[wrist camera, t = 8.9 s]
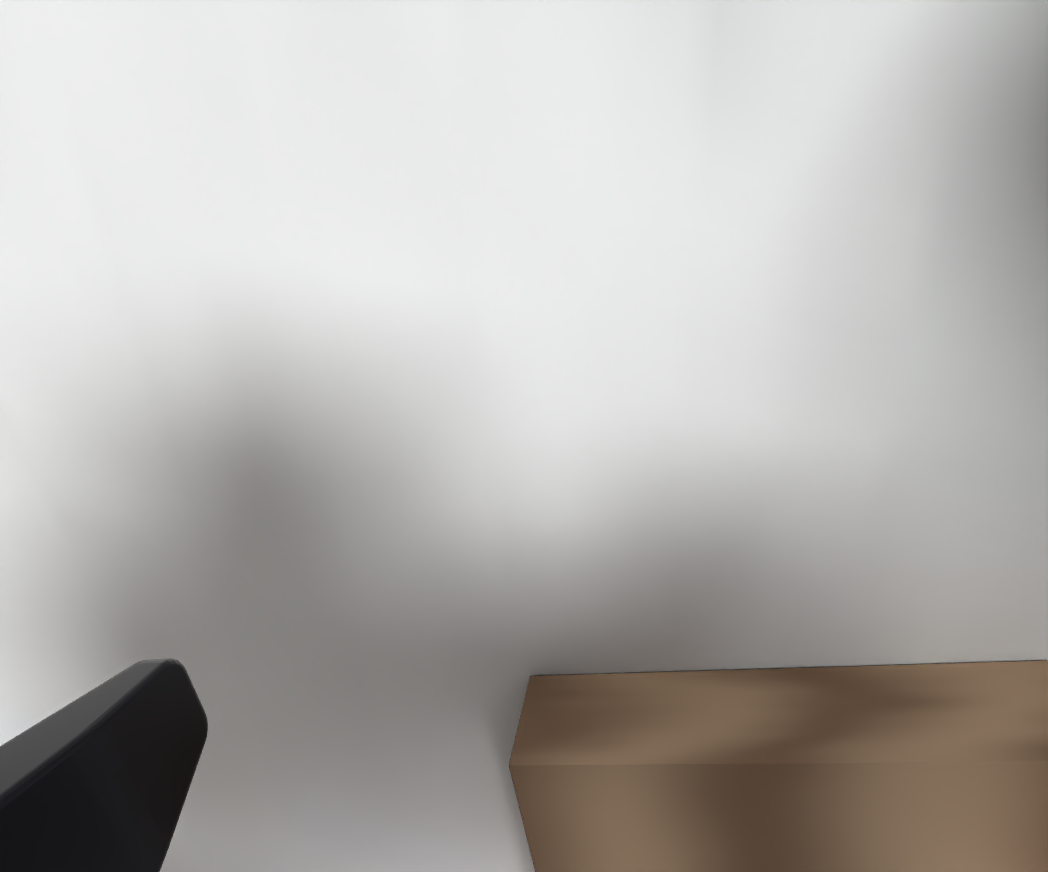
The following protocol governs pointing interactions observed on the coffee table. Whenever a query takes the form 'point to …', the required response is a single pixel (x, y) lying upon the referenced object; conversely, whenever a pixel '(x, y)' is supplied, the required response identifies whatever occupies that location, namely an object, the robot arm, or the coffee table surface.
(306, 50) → the coffee table surface
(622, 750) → the walnut plinth
